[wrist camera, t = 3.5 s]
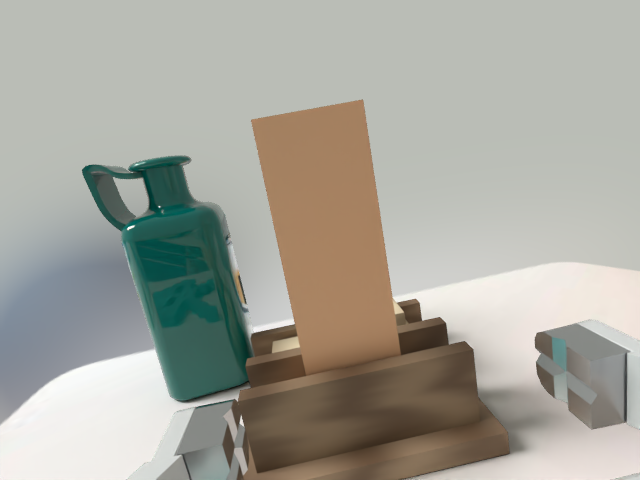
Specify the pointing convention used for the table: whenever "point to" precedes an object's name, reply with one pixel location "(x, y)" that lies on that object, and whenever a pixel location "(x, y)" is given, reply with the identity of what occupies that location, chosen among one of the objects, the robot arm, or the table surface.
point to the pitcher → (181, 276)
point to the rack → (367, 410)
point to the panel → (329, 234)
